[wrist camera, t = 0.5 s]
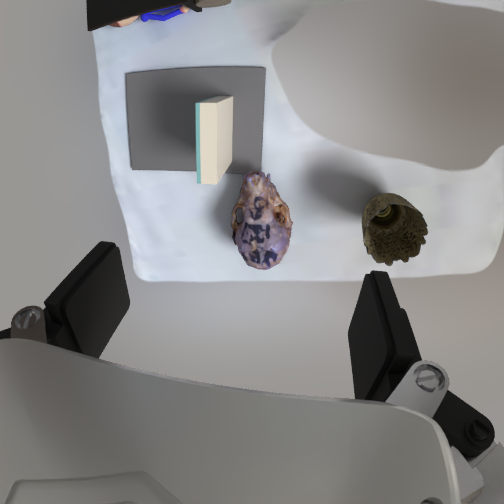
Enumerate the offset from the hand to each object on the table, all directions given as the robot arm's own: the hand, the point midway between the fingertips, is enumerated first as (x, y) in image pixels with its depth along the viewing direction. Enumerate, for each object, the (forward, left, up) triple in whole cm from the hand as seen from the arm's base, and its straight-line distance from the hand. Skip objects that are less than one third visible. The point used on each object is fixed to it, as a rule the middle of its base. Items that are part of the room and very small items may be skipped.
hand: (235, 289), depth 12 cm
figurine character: (-17, -13, -28) cm, 36 cm away
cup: (+8, +14, -28) cm, 32 cm away
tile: (0, -6, -28) cm, 28 cm away
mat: (-1, -10, -28) cm, 30 cm away
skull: (+10, -1, -28) cm, 30 cm away
